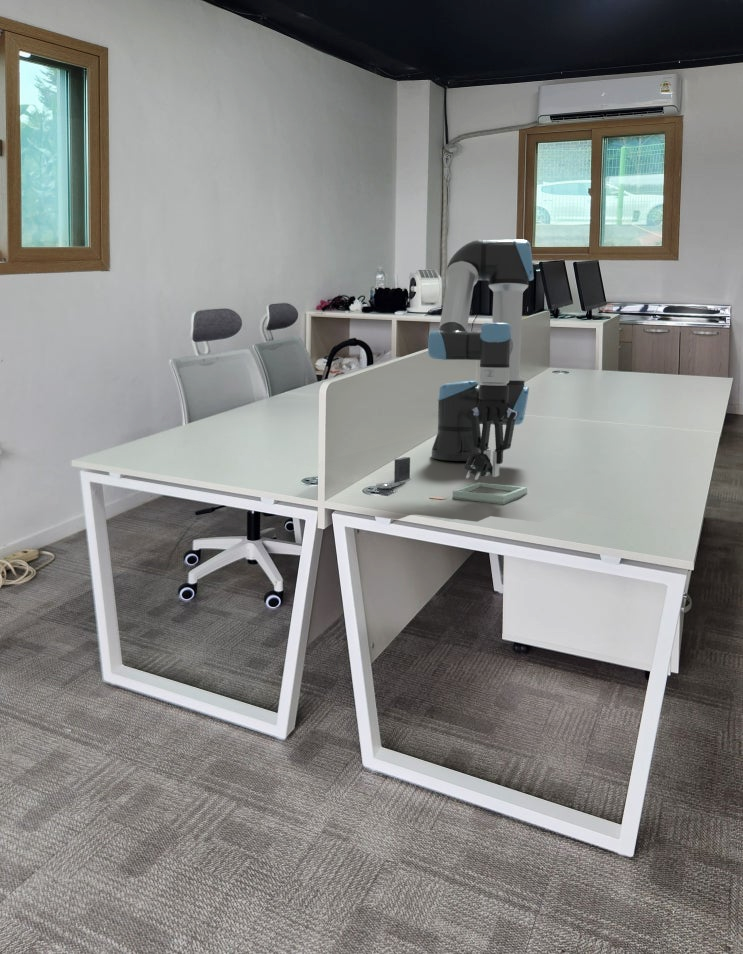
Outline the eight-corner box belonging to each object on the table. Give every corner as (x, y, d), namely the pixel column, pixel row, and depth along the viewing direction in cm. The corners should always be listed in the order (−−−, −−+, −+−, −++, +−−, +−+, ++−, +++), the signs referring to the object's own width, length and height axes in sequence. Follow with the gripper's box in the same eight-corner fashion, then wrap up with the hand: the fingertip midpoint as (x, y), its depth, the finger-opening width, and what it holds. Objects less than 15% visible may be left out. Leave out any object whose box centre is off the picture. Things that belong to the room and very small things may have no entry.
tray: (478, 489, 234) (478, 482, 234) (527, 494, 227) (527, 487, 227) (452, 498, 221) (452, 490, 221) (503, 504, 214) (503, 496, 213)
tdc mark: (431, 497, 222) (431, 496, 222) (445, 499, 220) (445, 498, 220) (429, 498, 221) (429, 497, 221) (443, 500, 219) (443, 499, 219)
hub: (378, 489, 233) (379, 486, 233) (401, 492, 230) (401, 488, 229) (365, 493, 227) (365, 489, 227) (388, 495, 224) (388, 492, 224)
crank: (386, 489, 225) (386, 464, 224) (373, 488, 228) (373, 462, 226) (413, 482, 238) (414, 457, 237) (401, 480, 240) (401, 456, 239)
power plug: (504, 474, 223) (488, 449, 214) (493, 499, 220) (476, 475, 211) (485, 471, 226) (468, 446, 217) (474, 496, 223) (457, 471, 215)
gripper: (461, 383, 220) (458, 475, 224) (516, 385, 212) (512, 480, 216) (473, 382, 226) (470, 471, 230) (527, 384, 219) (523, 476, 222)
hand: (491, 475), depth 223 cm, fingers closed on power plug, 2 cm apart
